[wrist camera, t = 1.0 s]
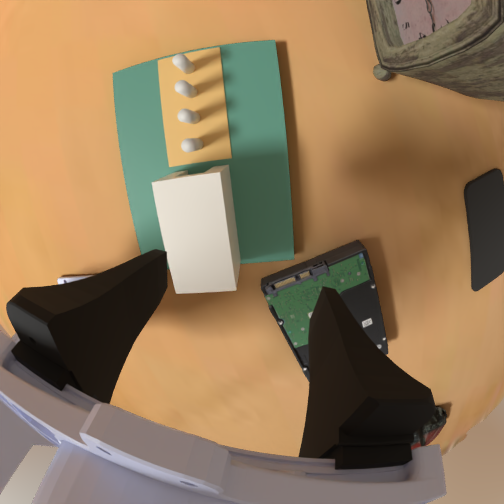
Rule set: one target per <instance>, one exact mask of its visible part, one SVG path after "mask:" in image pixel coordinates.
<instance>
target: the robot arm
mask: <svg viewBox="0 0 504 504" xmlns="http://www.w3.org/2000/svg"><path fill="white" fill-rule="evenodd" d="M57 281H58V285H52V286H44V287H29V288H23V289H21V290H20V291H19V292H18V293H17V294H16V295H15V296H14V297H13V298H12V299H11V300H10V301H9V302H8V303H7V307H6V310H7V314H8V317H9V319H10V321H11V323H12V325H13V327H14V329H15V331H16V333H15V334H14V335H13V336H12V338H10V337H9V336H7V335H6V334H5V333H4V332H2V331H1V330H0V494H1V492H2V491H3V489H4V487H5V486H6V484H7V483H8V481H9V480H10V478H11V477H12V475H13V474H14V472H15V471H16V469H17V468H18V466H19V465H20V463H21V462H22V460H23V459H24V457H25V456H26V454H27V453H28V451H29V450H30V449H31V447H32V446H33V445H42V446H52V447H58V450H57V452H56V454H55V456H54V458H53V460H52V462H51V464H50V466H49V468H48V470H47V472H46V474H45V476H44V478H43V480H42V482H41V484H40V486H39V488H38V491H37V493H36V495H35V497H34V500H33V502H32V504H425V503H428V502H431V501H433V500H436V499H438V498H440V497H443V496H445V495H446V484H445V477H444V469H443V462H442V456H441V450H440V445H439V444H435V445H429V446H422V447H417V448H415V449H412V450H411V444H410V443H413V442H414V434H413V433H414V432H416V431H417V430H418V429H419V428H421V427H422V426H423V425H424V424H426V423H427V422H428V421H429V420H430V419H431V418H432V416H433V415H434V413H435V410H436V406H435V403H434V399H433V395H432V392H431V389H430V388H428V387H426V386H425V385H423V384H422V383H420V382H419V381H417V380H415V379H414V378H412V377H411V376H410V375H408V374H407V373H406V372H405V371H403V370H402V369H401V368H399V367H398V366H397V365H396V364H395V363H394V362H393V361H391V360H390V359H389V358H388V357H387V356H386V355H385V354H384V353H383V352H382V351H381V350H380V349H379V348H378V347H377V346H376V344H375V343H374V342H373V341H372V340H371V339H370V338H369V336H368V335H367V334H366V333H365V331H364V330H363V329H362V327H361V326H360V325H359V323H358V322H357V321H356V319H355V318H354V316H353V315H352V313H351V312H350V310H349V309H348V307H347V306H346V304H345V303H344V301H343V300H342V298H341V296H340V295H339V293H338V292H337V290H336V289H334V288H329V287H324V286H322V289H321V292H320V295H319V297H318V300H317V302H316V305H315V308H314V310H313V313H312V315H311V318H310V322H309V334H308V349H309V375H310V384H309V397H308V406H307V413H306V421H305V427H304V433H303V438H302V444H301V448H300V453H299V457H291V456H282V455H274V454H267V453H260V452H254V451H248V450H243V449H238V448H233V447H228V446H224V445H220V444H217V443H216V442H214V441H211V440H208V439H205V438H202V437H199V436H196V435H193V434H190V433H186V432H183V431H180V430H177V429H173V428H170V427H167V426H164V425H162V424H159V423H156V422H153V421H151V420H148V419H145V418H143V417H140V416H138V415H135V414H133V413H130V412H128V411H126V410H123V409H121V408H119V407H116V406H113V405H110V401H111V397H112V394H113V391H114V388H115V386H116V383H117V380H118V377H119V375H120V372H121V370H122V368H123V365H124V363H125V361H126V358H127V356H128V354H129V352H130V350H131V348H132V346H133V344H134V342H135V340H136V338H137V337H138V335H139V334H140V332H141V331H142V329H143V328H144V326H145V325H146V323H147V322H148V320H149V319H150V317H151V316H152V314H153V313H154V311H155V310H156V308H157V307H158V305H159V303H160V301H161V299H162V297H163V295H164V293H165V291H166V289H167V252H166V251H162V250H158V249H154V250H151V251H149V252H146V253H144V254H142V255H140V256H138V257H136V258H134V259H132V260H129V261H127V262H125V263H123V264H121V265H119V266H116V267H114V268H111V269H109V270H107V271H104V272H102V273H99V274H96V275H88V276H70V277H59V278H58V279H57ZM66 281H67V282H66Z"/></svg>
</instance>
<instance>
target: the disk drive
mask: <svg viewBox="0 0 504 504" xmlns="http://www.w3.org/2000/svg"><path fill="white" fill-rule="evenodd" d="M322 286H324V287H329V288H334V289H336V290H337V292H338V293H339V295H340V296H341V298H342V300H343V301H344V303H345V304H346V306H347V307H348V309H349V310H350V312H351V313H352V315H353V316H354V318H355V319H356V321H357V322H358V323H359V325H360V326H361V327H362V329H363V330H364V331H365V333H366V334H367V335H368V336H369V338H370V339H371V340H372V341H373V342H374V343H375V344H376V346H377V347H378V348H379V349H380V350H381V351H382V352H383V353H384V354H385V355H386V354H388V344H387V339H386V334H385V328H384V323H383V317H382V313H381V307H380V303H379V297H378V293H377V288H376V284H375V281H374V274H373V270H372V266H371V264H370V260H369V256H368V253H367V250H366V248H365V247H364V246H363V245H362V244H361V243H360V241H359V240H356V241H354V242H351V243H349V244H347V245H345V246H342V247H339V248H337V249H334V250H332V251H329V252H327V253H324V254H322V255H319V256H317V257H315V258H313V259H310V260H308V261H306V262H302V263H300V264H297V265H295V266H292V267H290V268H287V269H285V270H282V271H280V272H278V273H275V274H272V275H269V276H267V277H264V278H262V279H261V290H262V291H263V293H264V296H265V298H266V300H267V302H268V305H269V309H270V311H271V313H272V315H273V316H274V318H275V319H276V321H277V324H278V325H279V327H280V329H281V331H282V333H283V334H284V336H285V339H286V340H287V342H288V344H289V346H290V348H291V349H292V351H293V353H294V355H295V357H296V359H297V361H298V362H299V365H300V366H301V368H302V370H303V373H304V375H305V376H306V377H307V379H308V381H309V382H310V375H309V349H308V334H309V322H310V318H311V315H312V313H313V310H314V308H315V305H316V302H317V300H318V297H319V295H320V292H321V289H322Z"/></svg>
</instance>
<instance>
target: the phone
mask: <svg viewBox="0 0 504 504" xmlns="http://www.w3.org/2000/svg"><path fill="white" fill-rule="evenodd" d="M464 198H465V205H466V212H467V221H468V231H469V238H470V252H471V287H472V289H473V290H474V291H478V290H480V289H481V288H483V287H484V286H486V285H487V284H489V283H490V282H491V281H493V280H494V279H495V278H497V277H498V276H499V275H501V274H502V273H503V272H504V181H503V175H502V172H501V171H500V170H498V169H493V170H491V171H489V172H487V173H485V174H483V175H481V176H479V177H477V178H476V179H474V180H472V181H470V182H468V183H467V184H466V186H465V189H464Z"/></svg>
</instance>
